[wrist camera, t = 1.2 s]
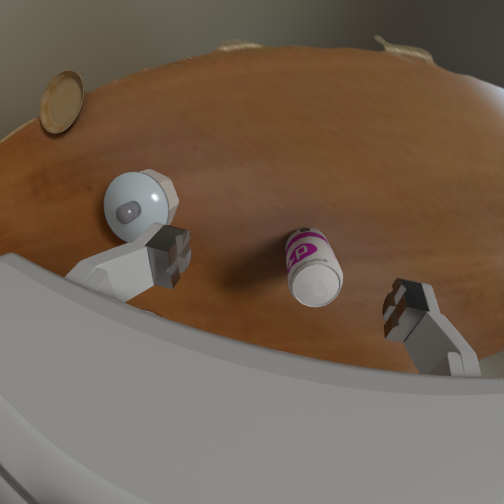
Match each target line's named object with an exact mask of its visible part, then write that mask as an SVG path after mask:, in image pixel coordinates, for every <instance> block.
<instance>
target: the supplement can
mask: <svg viewBox="0 0 504 504" xmlns="http://www.w3.org/2000/svg"><path fill="white" fill-rule="evenodd" d="M285 250H286V262H287V274H288V286H289V290H290V292H291V294H292V296H293V297H295V298H296V299H297V300H298V301H299V302H301V303H302V304H304V305H306V306H309V307H320V306H324V305H326V304H328V303H330V302H331V301H333V300H334V299H335V298H336V296H337V295H338V293H339V291H340V289H341V286H342V284H343V273H342V271H341V268H340V266H339V264H338V262H337V259H336V257H335V255H334V253H333V251H332V249H331V247H330V245H329V243H328V241H327V239H326V237H325V236H324V235H323V234H322V233H321V232H320V231H318V230H316V229H314V228H302V229H299V230H297V231H295V232H294V233H292V234H291V236H290V237H289V238H288V240H287V243H286V246H285Z"/></svg>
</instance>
